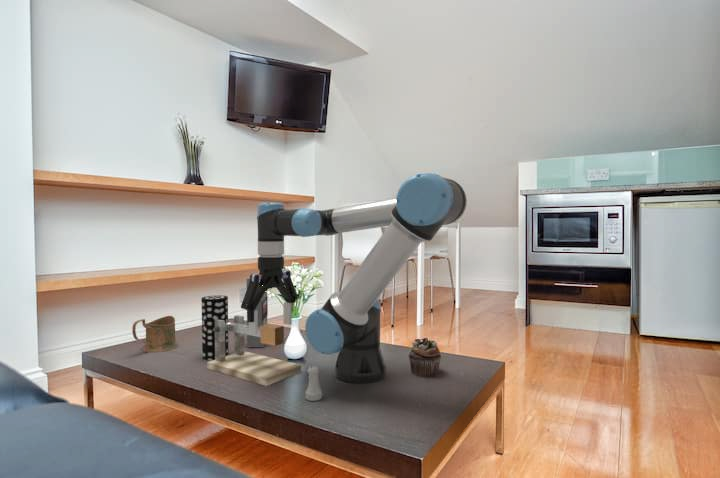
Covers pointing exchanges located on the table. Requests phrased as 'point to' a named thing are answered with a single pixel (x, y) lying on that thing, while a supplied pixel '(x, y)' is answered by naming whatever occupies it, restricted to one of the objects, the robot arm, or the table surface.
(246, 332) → the lever
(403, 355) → the table surface
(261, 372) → the press base
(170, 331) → the mug
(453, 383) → the table surface
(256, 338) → the tall grey upright block
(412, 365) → the cupcake
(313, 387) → the rook chess piece
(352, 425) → the table surface
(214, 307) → the white-spotted black cylinder
